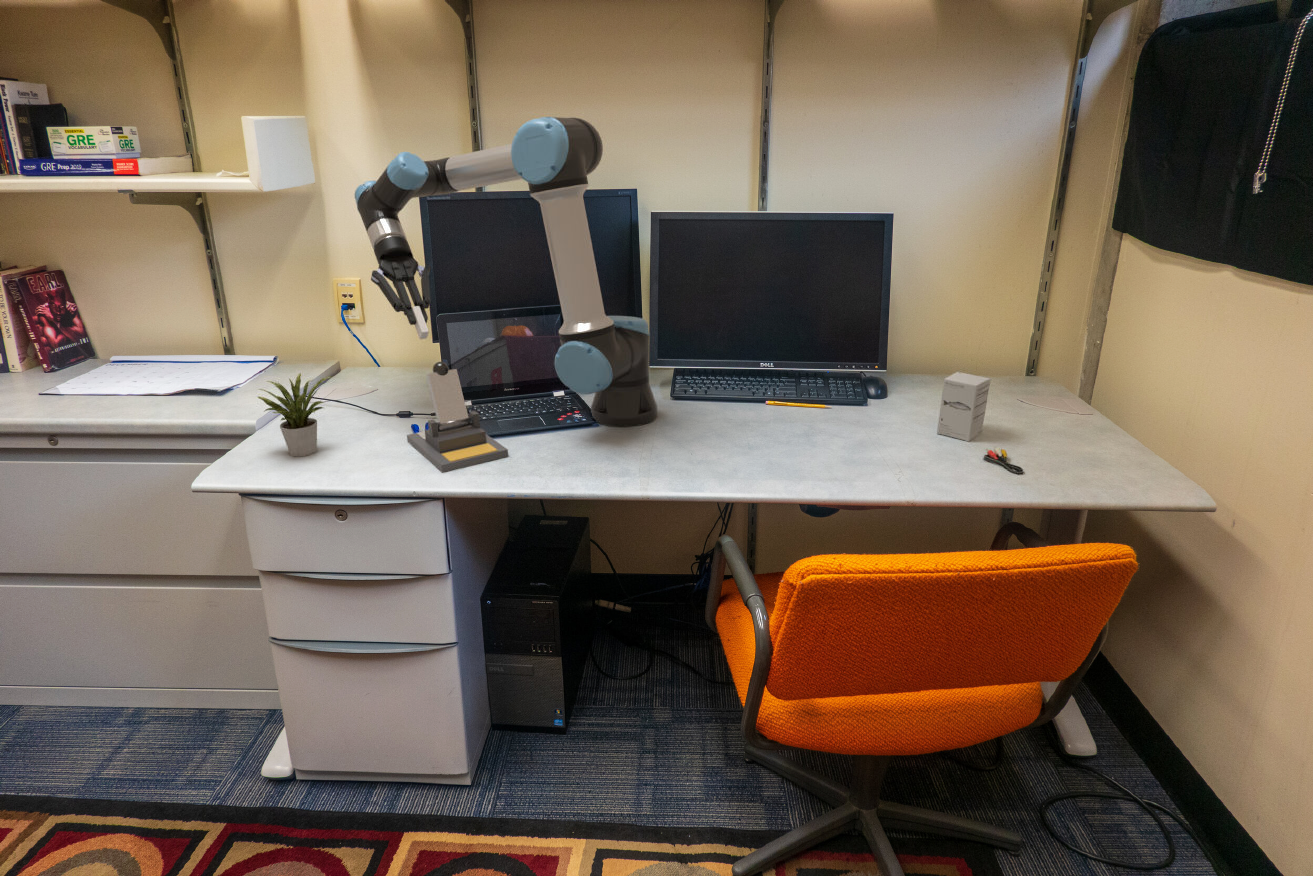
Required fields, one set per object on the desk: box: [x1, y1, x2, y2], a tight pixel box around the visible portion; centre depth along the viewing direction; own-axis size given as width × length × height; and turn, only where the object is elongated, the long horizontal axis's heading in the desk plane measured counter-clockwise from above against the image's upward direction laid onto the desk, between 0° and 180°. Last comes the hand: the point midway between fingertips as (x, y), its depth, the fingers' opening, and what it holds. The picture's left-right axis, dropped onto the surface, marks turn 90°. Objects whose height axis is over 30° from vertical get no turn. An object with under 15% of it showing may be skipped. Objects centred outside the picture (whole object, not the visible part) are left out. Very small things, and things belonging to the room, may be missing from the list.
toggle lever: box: [426, 361, 472, 432], centre depth 168 cm, size 3×7×14 cm, turn 124°
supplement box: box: [936, 371, 992, 442], centre depth 175 cm, size 7×7×13 cm
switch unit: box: [406, 410, 509, 473], centre depth 169 cm, size 20×14×7 cm
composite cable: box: [983, 446, 1024, 476], centre depth 161 cm, size 10×5×2 cm, turn 6°
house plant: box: [256, 372, 333, 457], centre depth 167 cm, size 14×14×16 cm
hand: (424, 335), depth 172 cm, fingers closed
